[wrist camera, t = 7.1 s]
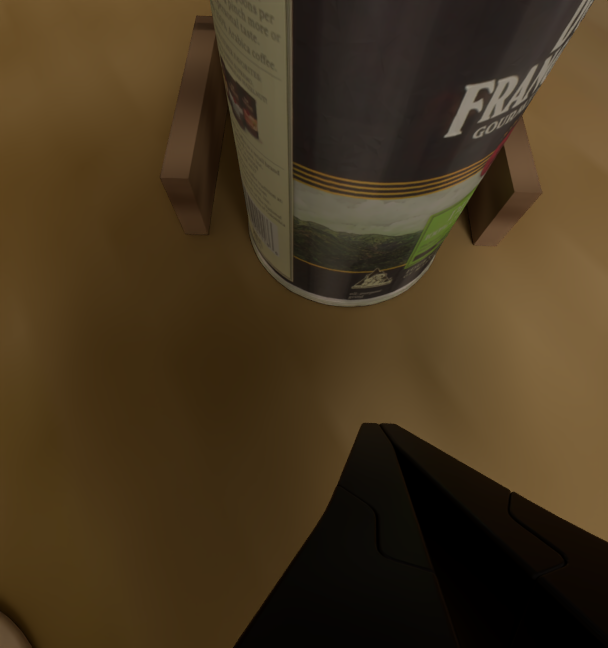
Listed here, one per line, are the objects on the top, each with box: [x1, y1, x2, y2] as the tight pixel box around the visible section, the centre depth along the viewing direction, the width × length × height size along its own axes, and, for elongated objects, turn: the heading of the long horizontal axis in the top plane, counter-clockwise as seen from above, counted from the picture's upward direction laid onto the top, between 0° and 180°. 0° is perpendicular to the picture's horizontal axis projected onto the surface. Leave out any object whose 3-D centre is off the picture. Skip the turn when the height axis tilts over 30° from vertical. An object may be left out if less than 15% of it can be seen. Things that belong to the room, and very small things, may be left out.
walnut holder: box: [160, 16, 542, 246], centre depth 20 cm, size 11×16×4 cm
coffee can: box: [210, 0, 594, 307], centre depth 14 cm, size 10×10×14 cm
